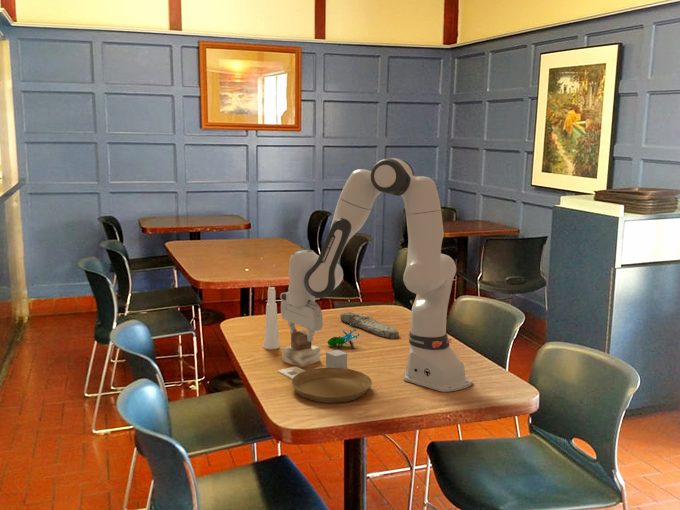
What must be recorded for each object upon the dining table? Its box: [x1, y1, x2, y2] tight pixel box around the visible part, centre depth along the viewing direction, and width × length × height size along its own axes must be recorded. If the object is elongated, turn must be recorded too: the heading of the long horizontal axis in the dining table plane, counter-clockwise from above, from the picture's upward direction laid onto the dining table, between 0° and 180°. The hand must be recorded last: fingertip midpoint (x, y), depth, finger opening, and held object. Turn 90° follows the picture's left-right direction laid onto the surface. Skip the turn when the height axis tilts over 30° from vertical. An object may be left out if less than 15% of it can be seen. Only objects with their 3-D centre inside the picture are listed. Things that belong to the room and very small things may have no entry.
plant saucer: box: [291, 367, 373, 404], centre depth 204 cm, size 24×24×3 cm
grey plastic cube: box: [325, 349, 348, 369], centre depth 224 cm, size 5×5×5 cm
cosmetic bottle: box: [262, 286, 281, 350], centre depth 243 cm, size 6×6×22 cm
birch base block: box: [281, 344, 321, 368], centre depth 230 cm, size 9×9×5 cm
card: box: [277, 365, 305, 380], centre depth 217 cm, size 10×7×1 cm
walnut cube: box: [290, 330, 312, 351], centre depth 229 cm, size 5×5×5 cm
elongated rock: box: [339, 311, 400, 339], centre depth 273 cm, size 35×5×10 cm
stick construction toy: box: [326, 328, 361, 350], centre depth 246 cm, size 12×7×8 cm
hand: (301, 337), depth 229 cm, fingers open, 8 cm apart
